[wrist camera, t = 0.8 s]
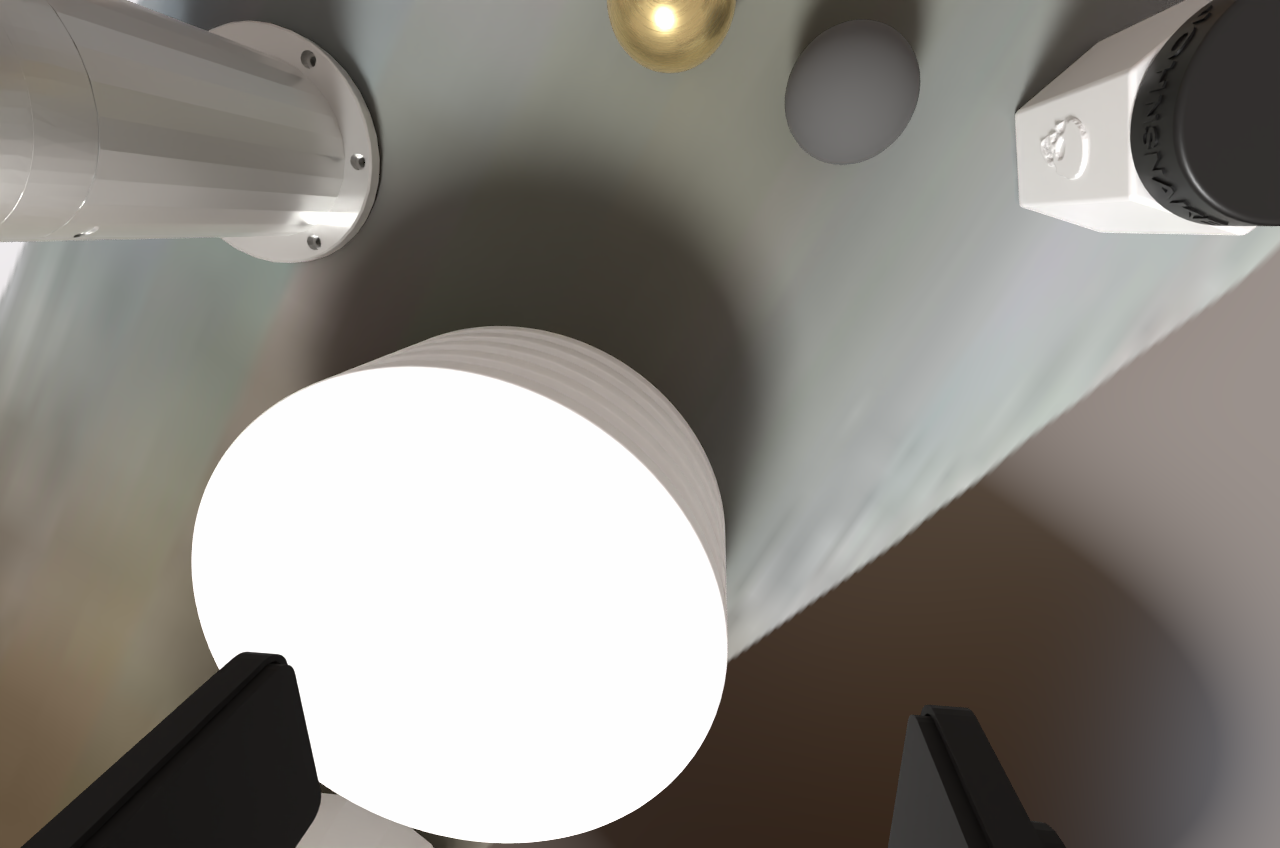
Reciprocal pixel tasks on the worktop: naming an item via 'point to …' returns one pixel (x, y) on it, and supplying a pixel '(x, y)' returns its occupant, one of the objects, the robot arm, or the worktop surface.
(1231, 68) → the jar
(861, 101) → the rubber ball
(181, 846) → the robot arm
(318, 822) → the container
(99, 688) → the worktop surface
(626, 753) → the plate stack
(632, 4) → the brass ball
